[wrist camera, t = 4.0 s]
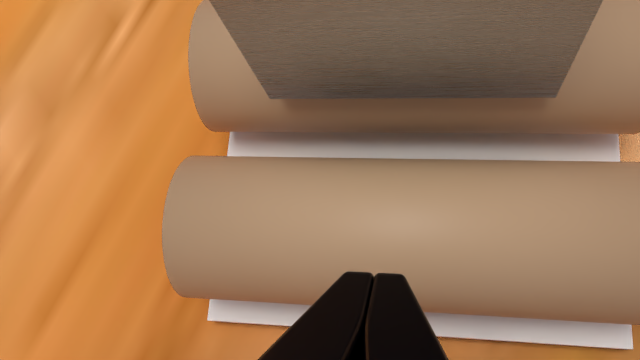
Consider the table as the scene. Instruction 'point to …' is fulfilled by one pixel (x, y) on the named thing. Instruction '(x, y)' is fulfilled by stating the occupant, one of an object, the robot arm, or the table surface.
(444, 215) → the roller track
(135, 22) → the table surface
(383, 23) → the grey block
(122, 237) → the table surface
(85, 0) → the table surface
